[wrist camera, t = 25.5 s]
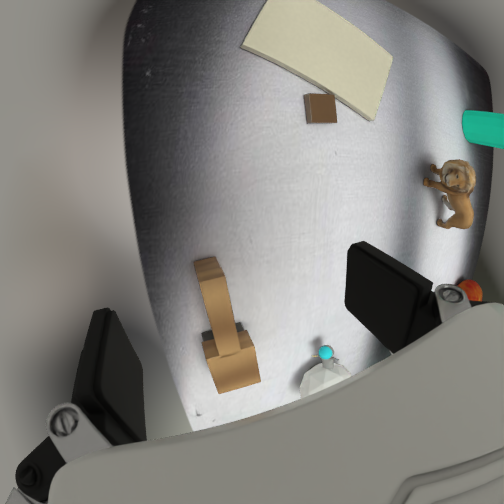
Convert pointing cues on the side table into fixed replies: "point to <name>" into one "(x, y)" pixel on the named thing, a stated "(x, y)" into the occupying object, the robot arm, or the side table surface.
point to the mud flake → (320, 108)
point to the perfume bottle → (323, 373)
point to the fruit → (471, 290)
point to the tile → (322, 51)
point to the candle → (484, 128)
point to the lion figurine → (455, 191)
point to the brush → (224, 333)
